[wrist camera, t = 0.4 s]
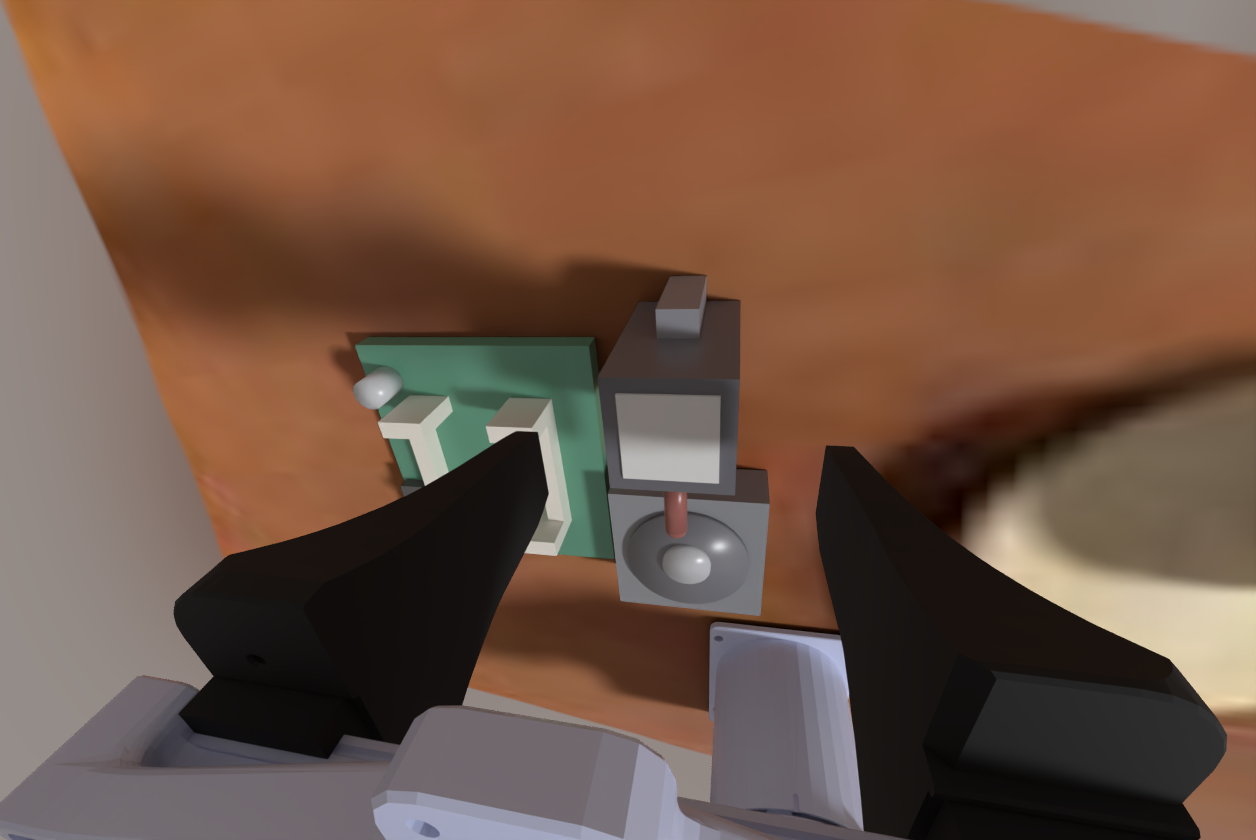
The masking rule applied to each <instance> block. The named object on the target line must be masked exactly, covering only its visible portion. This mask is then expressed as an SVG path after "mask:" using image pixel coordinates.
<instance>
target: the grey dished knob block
mask: <svg viewBox="0 0 1256 840" xmlns="http://www.w3.org/2000/svg"><path fill="white" fill-rule="evenodd" d="M608 499H609V508H610V516H611V525H612V533H613V542H614V550H615V559H616V567H617V576H618V584H619V593H620V601H625V602H635V603H644V604H653V605H663V606H672V607H682V608H691V609H700V610H710V611H719V612H729V613H738V614H747V615H757V616H760V612H761V601H762V589H763V577H764V565H765V553H766V541H767V529H768V518H769V506H770V502H769V488H768V474H767V471H766V470H746V469H736V484H735V496H734V495H718V494H701V493H687V524H688V528H687V532H686V534H685V535H684V536H683V537H681V538H678V539H675V538H672V537H670V536H669V535H668V534H667V532H666V529H665V513H664V492H663V491H652V490H636V489H619V488H610V489H609V492H608Z"/></svg>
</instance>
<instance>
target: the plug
mask: <svg viewBox="0 0 1256 840" xmlns="http://www.w3.org/2000/svg"><path fill="white" fill-rule="evenodd" d="M706 293H707V275H700V276H670V278H669V280H668V282H667V284H666V287H665V289H664V291H663V294H662V296H661V298H660V300H659V302H639V303H638V304H637V306H636V308H635V310H634V312H633V313H632V315H631V317H630V319H629V321H628V323H627V324H626V326H625V328H624V330H623V332H622V333H621V335H620V337H619V339H618V341H617V343H616V344H615V346H614V348H613V350H612V352H611V353H610V355H609V357H608V359H607V361H606V363H605V364H604V366H603V368H602V370H601V372H600V373H599V375H598V377H597V378H598V387H599V396H600V404H601V413H602V422H603V431H604V439H605V448H606V457H607V465H608V474H609V483H610V488H619V489H636V490H652V491H663V492H664V513H665V529H666V532H667V534H668V535H669V536H670V537H672V538H675V539H678V538H681V537H683V536H684V535H685V534H686V532H687V528H688V524H687V493H701V494H718V495H734V496H735V484H736V459H737V434H738V409H739V385H740V300H736V301H706Z"/></svg>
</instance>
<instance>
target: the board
mask: <svg viewBox="0 0 1256 840" xmlns="http://www.w3.org/2000/svg"><path fill="white" fill-rule="evenodd" d="M355 348H356V350H357V353H358V356H359V359H360V361H361V364H362V367H363V370H364V372H365V375H366V377H364V378H363V379H361V380H360V381H359V382H357V383H356V384H355V385H354V388H353V392H354V396H355V398H356V399H357V401H358V402H359V403H360V404H361V405H363V406H364V407H366V408H369V409H378V411H379V414H380V416H381V420H380V421H379V422H378V424H379V427H380V430H381V432H382V435H383V438H389V441H390V444H391V447H392V449H393V452H394V455H395V457H396V460H397V463H398V466H399V468H400V471H401V474H402V477H403V479H404V482H403V483H402V484H401V486H400V487H401V490H402V492H403V495H404V496H406V495H408V494H410V493H412V492H414V491H416V490H418V489H420V488H422V487H424V486H426V485H427V484H429V483H431V482H433V481H434V480H436V479H438V478H439V477H441V476H443V475H445V474H446V473H448V472H450V471H452V470H453V469H455V468H457V467H458V466H460V465H461V464H463V463H465V462H466V461H468V460H469V459H471V458H473V457H474V456H476V455H477V454H479V453H480V452H482V451H484V450H485V449H487V448H488V447H490V446H491V445H493V444H495V443H496V442H498V441H499V440H501V439H503V438H504V437H506V436H508V435H509V434H511V433H513V432H515V431H529V432H538V435H539V441H540V446H541V452H542V458H543V463H544V469H545V474H546V480H547V486H548V491H549V495H548V498H547V501H546V505H545V508H544V511H543V514H542V516H541V519H540V522H539V525H538V527H537V529H536V531H535V533H534V535H533V537H532V539H531V541H530V543H529V545H528V547H527V549H526V551H525V553H531V554H542V555H553V556H557V554H562V555H573V556H585V557H596V558H607V559H614V558H615V550H614V542H613V533H612V525H611V516H610V508H609V499H608V492H609V489H610V483H609V474H608V465H607V457H606V448H605V439H604V431H603V422H602V413H601V404H600V396H599V387H598V378H597V377H598V375H599V370H598V361H597V352H596V343H595V337H368V338H366V339H364V340H362V341H361V342H359V343H357V344H356V345H355Z"/></svg>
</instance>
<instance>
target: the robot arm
mask: <svg viewBox="0 0 1256 840" xmlns="http://www.w3.org/2000/svg"><path fill="white" fill-rule="evenodd" d="M548 495H549V491H548V486H547V480H546V474H545V469H544V463H543V458H542V452H541V446H540V441H539V435H538V432H529V431H515V432H513V433H511V434H509V435H508V436H506V437H504V438H503V439H501V440H499V441H498V442H496V443H495V444H493V445H491V446H490V447H488V448H487V449H485V450H484V451H482V452H480V453H479V454H477V455H476V456H474V457H473V458H471V459H469V460H468V461H466V462H465V463H463V464H461V465H460V466H458V467H457V468H455V469H453V470H452V471H450V472H448V473H446V474H445V475H443V476H441V477H439V478H438V479H436V480H434V481H433V482H431V483H429V484H427V485H426V486H424V487H422V488H420V489H418V490H416V491H414V492H412V493H410V494H408V495H406V496H404V497H402V498H400V499H398V500H396V501H394V502H392V503H390V504H387V505H385V506H383V507H381V508H378V509H376V510H373V511H371V512H368V513H366V514H363V515H361V516H358V517H356V518H353V519H351V520H348V521H346V522H343V523H340V524H338V525H335V526H332V527H329V528H326V529H323V530H320V531H317V532H314V533H310V534H307V535H304V536H301V537H298V538H294V539H291V540H287V541H284V542H280V543H276V544H272V545H268V546H264V547H260V548H256V549H252V550H248V551H244V552H240V553H235V554H231V555H228V556H227V557H226V558H224V559H223V560H222V561H221V562H220V563H219V564H218V565H217V566H215V567H214V568H213V569H212V570H211V571H209V573H207V574H206V575H205V576H204V577H202V578H201V579H200V580H199V581H198V582H196V583H195V584H194V585H193V586H192V587H191V588H189V589H188V590H187V591H186V592H185V593H183V594H182V595H181V596H180V597H179V598H178V599H177V600H176V601H175V606H174V618H175V622H176V625H177V627H178V629H179V630H180V632H181V634H182V635H183V637H184V638H185V639H186V641H187V642H188V643H189V645H190V646H191V647H192V648H193V650H194V651H195V652H196V654H197V655H198V656H199V658H200V659H201V660H202V662H203V663H204V664H205V666H206V667H207V668H208V670H209V671H210V672H211V673H212V675H213V676H214V677H213V678H212V679H211V680H210V681H209V682H208V683H207V684H206V685H205V686H204V687H203V688H202V689H201V690H200V691H199V690H198V689H196V688H195V687H193V686H191V685H189V684H186V683H183V682H178V681H172V680H167V679H161V678H156V677H150V676H138V677H136V678H135V679H134V680H133V681H132V682H131V683H130V684H128V686H127V687H125V688H124V689H123V690H122V691H121V692H120V693H119V694H118V695H117V696H115V697H114V698H113V699H112V700H111V701H110V702H109V703H108V704H107V705H106V706H105V707H103V708H102V709H101V710H100V711H99V712H98V713H97V714H96V715H95V716H94V717H93V718H91V719H90V720H89V721H88V722H87V723H86V724H85V725H84V726H83V727H82V728H81V729H80V730H78V731H77V732H76V733H75V734H74V735H73V736H72V737H71V738H70V739H69V740H68V741H66V742H65V743H64V744H63V745H62V746H61V747H60V748H59V749H58V750H57V751H56V752H54V753H53V755H51V756H50V757H49V758H48V759H47V760H46V761H45V762H44V763H43V764H41V765H40V766H39V767H38V768H37V769H36V770H35V771H34V772H33V773H32V774H31V775H30V776H28V777H27V778H26V779H25V780H24V781H23V782H22V783H21V784H20V785H19V786H18V787H17V788H15V789H14V790H13V791H12V792H11V793H10V794H9V795H8V796H7V797H6V798H4V799H3V800H2V801H1V802H0V835H1V836H2V837H4V838H6V839H7V840H1199V839H1200V838H1201V837H1200V831H1199V828H1198V827H1197V825H1196V824H1195V822H1194V821H1193V819H1192V817H1191V816H1190V814H1189V813H1188V811H1187V810H1186V808H1185V807H1184V805H1183V802H1184V801H1185V799H1186V798H1187V797H1188V796H1189V795H1190V794H1191V793H1192V792H1193V791H1194V790H1195V789H1196V788H1197V787H1198V786H1199V785H1200V784H1201V783H1202V782H1203V781H1204V780H1205V779H1206V778H1207V777H1208V776H1209V775H1210V774H1211V773H1212V772H1213V771H1214V770H1215V768H1216V767H1217V765H1218V763H1219V762H1220V760H1221V759H1222V757H1223V756H1224V754H1225V752H1226V744H1227V734H1226V732H1225V730H1224V729H1223V727H1222V725H1221V724H1220V722H1219V720H1218V719H1217V718H1216V716H1215V715H1214V714H1213V712H1212V711H1211V710H1210V709H1209V707H1208V706H1207V705H1206V704H1205V702H1204V701H1203V700H1202V699H1201V697H1200V696H1199V695H1198V693H1197V692H1196V691H1195V690H1194V688H1193V687H1192V686H1191V685H1190V683H1189V682H1188V681H1187V680H1186V679H1185V677H1184V676H1183V675H1182V674H1181V672H1180V671H1179V670H1178V669H1177V668H1176V666H1175V665H1174V664H1173V663H1172V662H1171V661H1170V659H1168V658H1166V657H1164V656H1161V655H1159V654H1157V653H1155V652H1153V651H1151V650H1148V649H1146V648H1144V647H1142V646H1140V645H1138V644H1135V643H1133V642H1131V641H1129V640H1127V639H1125V638H1122V637H1120V636H1118V635H1116V634H1114V633H1112V632H1109V631H1107V630H1105V629H1103V628H1101V627H1099V626H1096V625H1094V624H1092V623H1090V622H1088V621H1086V620H1085V619H1083V618H1081V617H1079V616H1077V615H1075V614H1073V613H1071V612H1069V611H1067V610H1066V609H1064V608H1062V607H1060V606H1058V605H1056V604H1054V603H1052V602H1050V601H1049V600H1047V599H1045V598H1043V597H1042V596H1040V595H1038V594H1036V593H1035V592H1033V591H1031V590H1029V589H1028V588H1026V587H1024V586H1022V585H1021V584H1019V583H1018V582H1016V581H1014V580H1013V579H1011V578H1010V577H1008V576H1006V575H1005V574H1003V573H1001V572H1000V571H998V570H997V569H995V568H993V567H992V566H990V565H989V564H987V563H986V562H984V561H983V560H981V559H980V558H978V557H977V556H976V555H974V554H973V553H971V552H970V551H969V550H967V549H966V548H965V547H963V546H962V545H960V544H959V543H958V542H956V541H955V540H953V539H952V538H951V537H949V536H948V535H947V534H946V533H944V532H943V531H942V530H940V529H939V528H938V527H937V526H936V525H934V524H933V523H932V522H931V521H930V520H929V519H927V518H926V517H925V516H924V515H923V514H921V513H920V512H919V511H918V510H917V509H916V508H915V507H913V506H912V505H911V504H910V503H909V502H908V501H907V500H906V499H905V498H904V497H903V496H902V495H900V494H899V493H898V492H897V491H896V490H895V489H894V488H893V487H892V486H891V485H890V484H889V483H888V482H887V481H886V480H885V479H884V478H883V477H882V476H881V475H880V474H879V473H878V472H877V471H876V470H875V469H874V467H873V466H872V465H871V464H870V463H869V462H868V461H867V460H866V459H865V458H864V457H863V456H862V455H861V454H860V453H859V452H858V451H857V450H856V449H855V448H854V447H847V446H826V449H825V456H824V462H823V469H822V475H821V482H820V488H819V495H818V501H817V508H816V521H817V532H818V541H819V550H820V554H821V558H822V563H823V567H824V571H825V575H826V579H827V583H828V587H829V591H830V596H831V600H832V604H833V608H834V612H835V616H836V620H837V624H838V628H839V632H840V635H834V634H825V633H815V632H806V631H797V630H788V629H779V628H770V627H761V626H752V625H743V624H734V623H725V622H714V623H712V624H711V626H710V670H709V718H710V720H711V721H713V722H714V729H713V750H712V774H711V793H710V803H709V802H704V801H699V800H693V799H688V798H682V797H677V782H676V780H675V778H674V776H673V774H672V772H671V770H670V768H669V766H668V764H667V762H666V761H665V760H664V758H663V757H662V756H661V755H660V754H658V753H657V752H656V751H654V750H653V749H651V748H650V747H648V746H647V745H645V744H644V743H643V742H641V741H640V740H638V739H636V738H633V737H630V736H627V735H623V734H620V733H617V732H614V731H610V730H607V729H603V728H597V727H590V726H585V725H578V724H573V723H566V722H560V721H554V720H548V719H542V718H536V717H529V716H524V715H517V714H511V713H505V712H499V711H493V710H487V709H481V708H475V707H469V706H462V703H463V700H464V697H465V694H466V691H467V688H468V685H469V682H470V679H471V676H472V673H473V670H474V668H475V665H476V662H477V659H478V656H479V653H480V651H481V648H482V645H483V642H484V640H485V637H486V635H487V632H488V629H489V627H490V624H491V622H492V619H493V616H494V614H495V611H496V609H497V607H498V604H499V602H500V600H501V598H502V596H503V594H504V592H505V590H506V588H507V586H508V584H509V582H510V580H511V578H512V576H513V574H514V572H515V570H516V568H517V567H518V565H519V563H520V561H521V559H522V557H523V555H524V553H525V551H526V549H527V547H528V545H529V543H530V541H531V539H532V537H533V535H534V533H535V531H536V529H537V527H538V525H539V522H540V519H541V516H542V514H543V511H544V508H545V505H546V501H547V498H548ZM849 697H850V705H851V713H852V720H851V715H850V709H849V704H848V698H849ZM852 722H853V726H852ZM853 730H854V731H853Z"/></svg>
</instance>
